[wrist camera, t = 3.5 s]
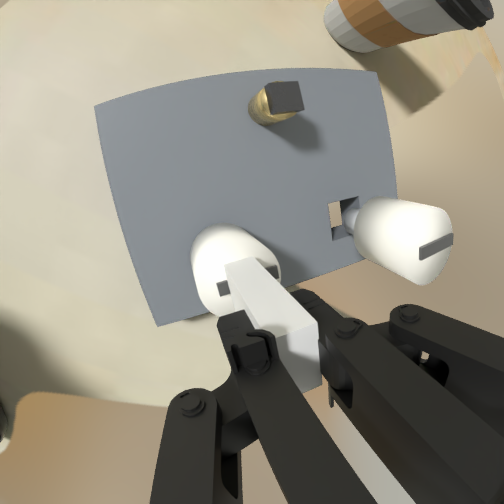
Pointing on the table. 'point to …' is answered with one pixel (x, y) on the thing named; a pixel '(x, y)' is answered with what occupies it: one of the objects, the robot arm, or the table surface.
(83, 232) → the table surface
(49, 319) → the table surface
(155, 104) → the plate
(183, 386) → the table surface
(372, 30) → the coffee cup
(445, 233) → the knob
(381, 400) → the robot arm
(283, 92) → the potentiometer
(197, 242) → the knob
